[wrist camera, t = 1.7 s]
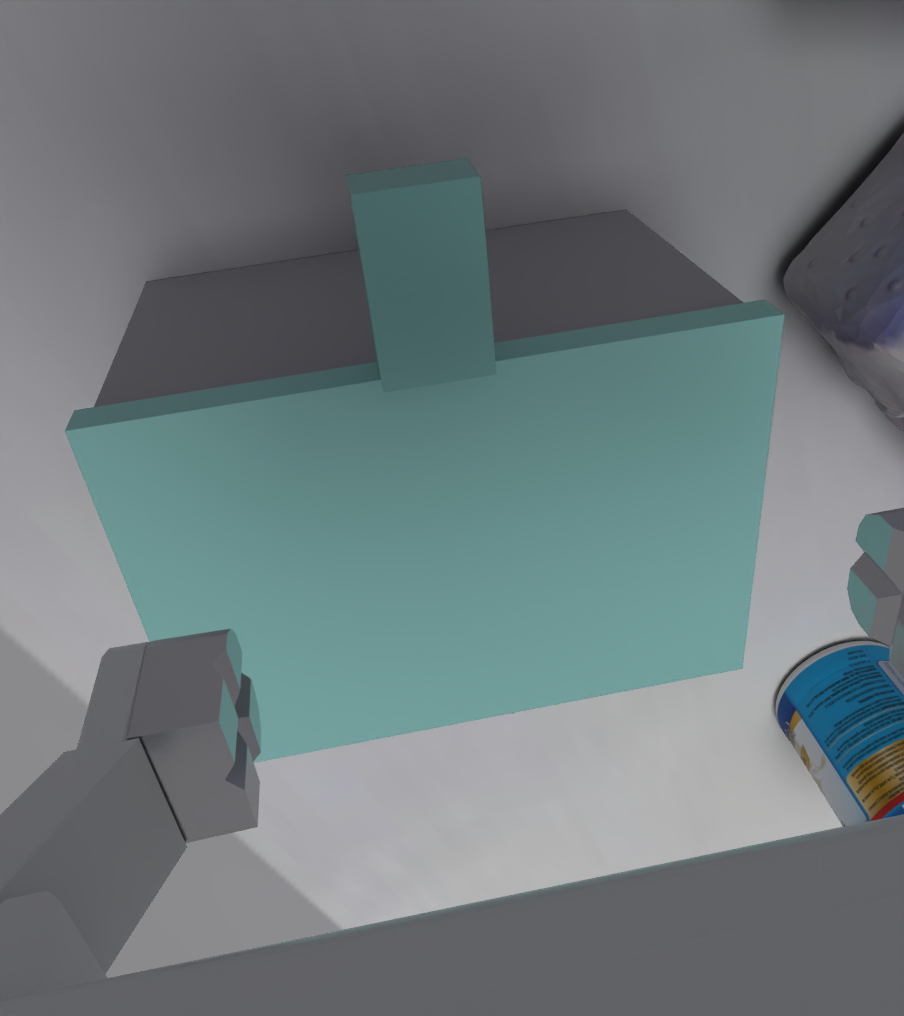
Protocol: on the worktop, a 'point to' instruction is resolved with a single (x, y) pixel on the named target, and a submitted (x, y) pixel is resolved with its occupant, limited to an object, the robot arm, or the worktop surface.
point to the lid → (451, 496)
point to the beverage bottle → (849, 728)
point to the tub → (345, 317)
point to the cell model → (861, 284)
